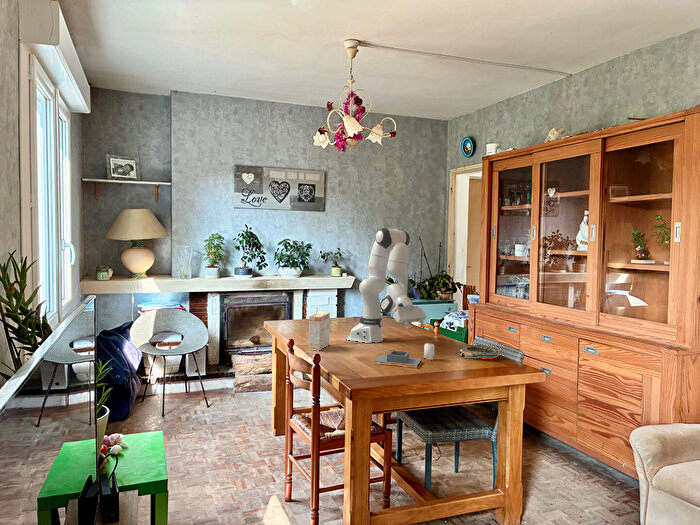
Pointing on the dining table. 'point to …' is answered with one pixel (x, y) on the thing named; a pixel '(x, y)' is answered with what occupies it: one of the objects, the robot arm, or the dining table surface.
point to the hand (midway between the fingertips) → (416, 327)
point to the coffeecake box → (319, 330)
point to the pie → (480, 351)
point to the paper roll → (429, 351)
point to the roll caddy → (398, 358)
